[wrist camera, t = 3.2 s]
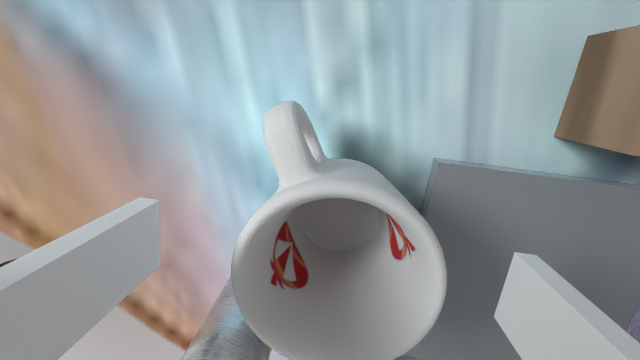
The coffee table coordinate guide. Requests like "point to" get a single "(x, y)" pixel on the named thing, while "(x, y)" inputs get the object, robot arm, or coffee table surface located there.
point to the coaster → (525, 247)
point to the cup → (334, 255)
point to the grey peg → (226, 334)
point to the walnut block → (606, 94)
